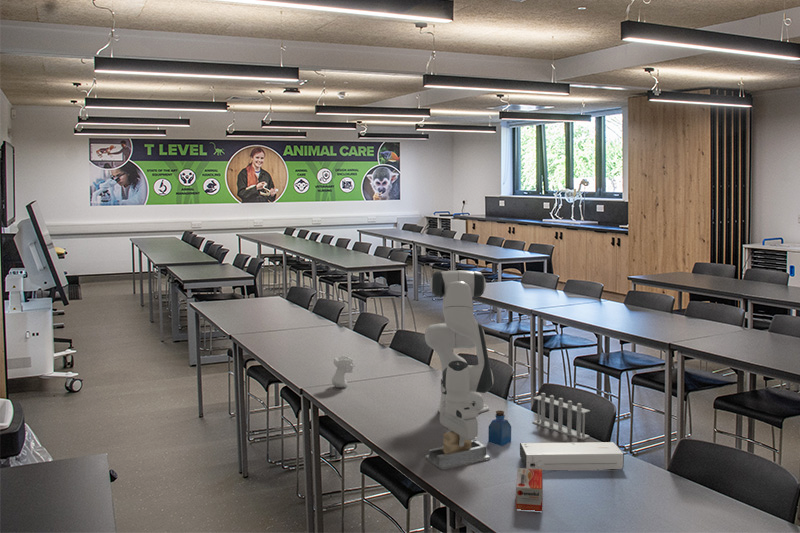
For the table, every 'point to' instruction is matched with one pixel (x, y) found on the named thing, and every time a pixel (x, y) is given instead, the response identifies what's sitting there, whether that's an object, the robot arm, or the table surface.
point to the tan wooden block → (454, 443)
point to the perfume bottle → (499, 430)
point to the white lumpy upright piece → (342, 370)
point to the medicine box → (529, 489)
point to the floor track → (457, 456)
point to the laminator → (572, 456)
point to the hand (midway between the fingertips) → (457, 443)
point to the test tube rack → (561, 416)
